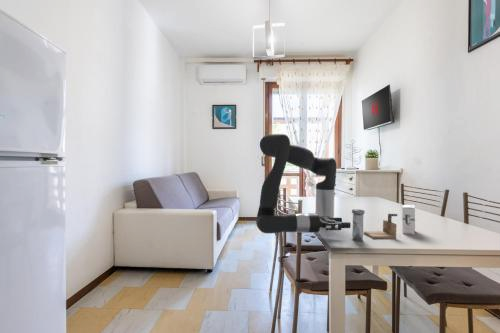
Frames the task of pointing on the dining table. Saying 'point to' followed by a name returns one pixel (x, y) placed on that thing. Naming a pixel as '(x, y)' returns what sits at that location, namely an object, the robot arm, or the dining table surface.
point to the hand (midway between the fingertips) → (345, 222)
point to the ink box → (408, 219)
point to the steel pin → (357, 225)
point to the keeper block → (384, 230)
